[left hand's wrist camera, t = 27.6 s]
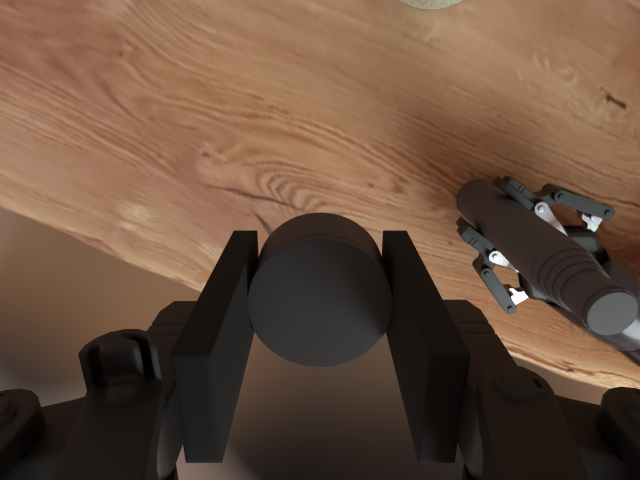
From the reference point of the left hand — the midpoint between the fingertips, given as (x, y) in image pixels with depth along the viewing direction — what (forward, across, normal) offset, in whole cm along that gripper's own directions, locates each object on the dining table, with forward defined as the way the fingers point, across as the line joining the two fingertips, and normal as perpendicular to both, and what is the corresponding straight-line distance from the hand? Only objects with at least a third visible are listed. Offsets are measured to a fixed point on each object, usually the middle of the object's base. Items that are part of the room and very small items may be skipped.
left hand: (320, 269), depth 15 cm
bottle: (+32, +17, -7) cm, 37 cm away
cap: (-2, 0, 0) cm, 2 cm away
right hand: (+25, +15, -5) cm, 30 cm away
